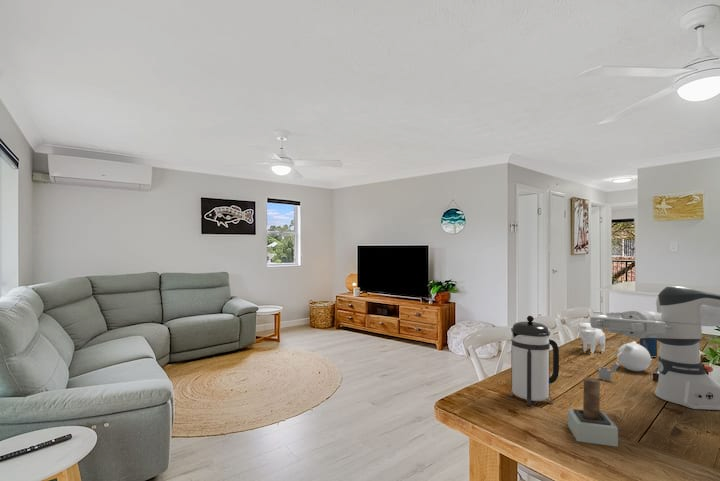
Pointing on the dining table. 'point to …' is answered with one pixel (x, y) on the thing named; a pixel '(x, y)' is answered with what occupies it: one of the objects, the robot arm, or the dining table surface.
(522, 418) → the dining table surface
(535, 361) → the coffee press
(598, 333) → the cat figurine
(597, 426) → the collar block
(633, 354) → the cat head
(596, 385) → the dowel
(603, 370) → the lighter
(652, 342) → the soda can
